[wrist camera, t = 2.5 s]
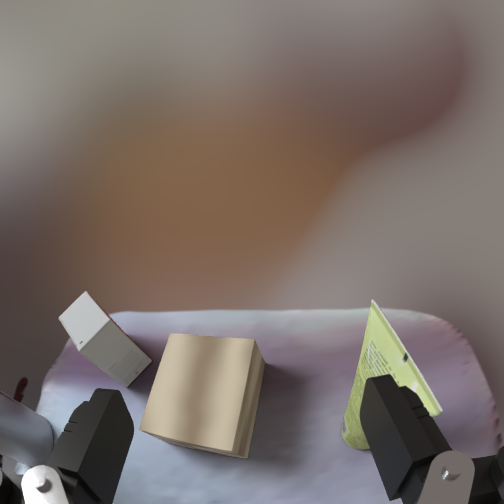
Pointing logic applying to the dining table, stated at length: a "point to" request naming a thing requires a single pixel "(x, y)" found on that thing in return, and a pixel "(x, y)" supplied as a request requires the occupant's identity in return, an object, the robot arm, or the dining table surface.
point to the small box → (103, 340)
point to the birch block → (206, 394)
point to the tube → (381, 363)
